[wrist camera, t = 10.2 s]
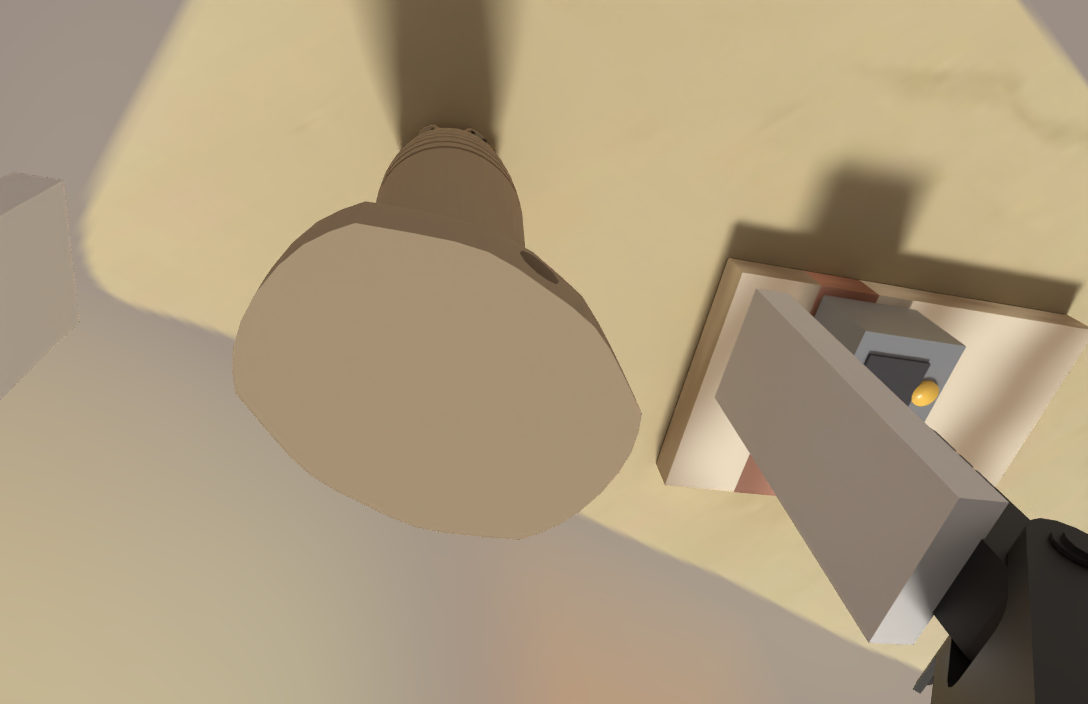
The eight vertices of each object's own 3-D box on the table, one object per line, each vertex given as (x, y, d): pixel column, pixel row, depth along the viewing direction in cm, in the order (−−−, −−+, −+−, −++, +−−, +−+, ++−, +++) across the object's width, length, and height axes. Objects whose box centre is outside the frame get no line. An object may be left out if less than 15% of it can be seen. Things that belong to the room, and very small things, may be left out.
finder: (916, 309, 27) (969, 348, 24) (872, 396, 28) (917, 441, 26) (824, 294, 26) (868, 333, 23) (785, 385, 28) (821, 430, 25)
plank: (1067, 315, 30) (1096, 330, 29) (957, 494, 34) (977, 515, 33) (728, 257, 27) (742, 272, 25) (656, 463, 31) (664, 485, 30)
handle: (411, 44, 22) (350, 150, 9) (564, 169, 24) (697, 396, 11) (330, 166, 23) (175, 412, 10) (483, 272, 26) (515, 578, 13)
